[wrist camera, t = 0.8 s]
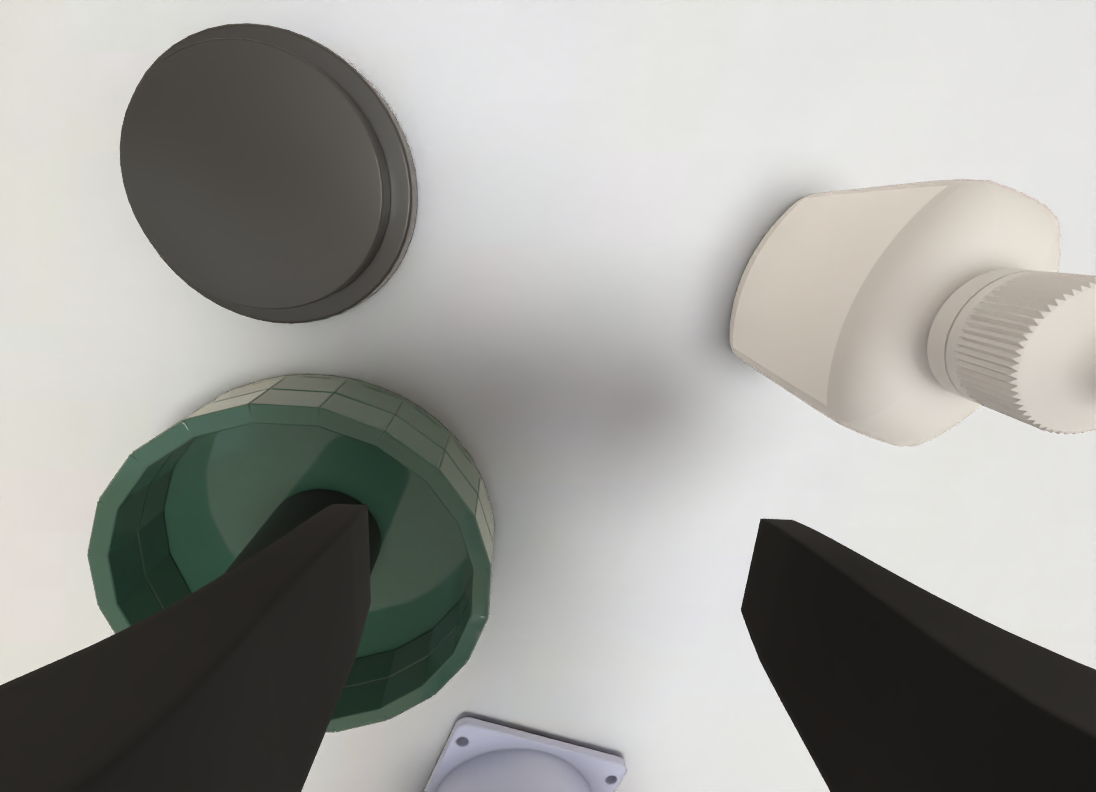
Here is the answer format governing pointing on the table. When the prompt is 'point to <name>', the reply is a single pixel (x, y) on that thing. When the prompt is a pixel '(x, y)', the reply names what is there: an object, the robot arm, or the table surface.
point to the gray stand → (268, 173)
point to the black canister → (297, 513)
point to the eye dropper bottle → (921, 310)
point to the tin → (296, 466)
